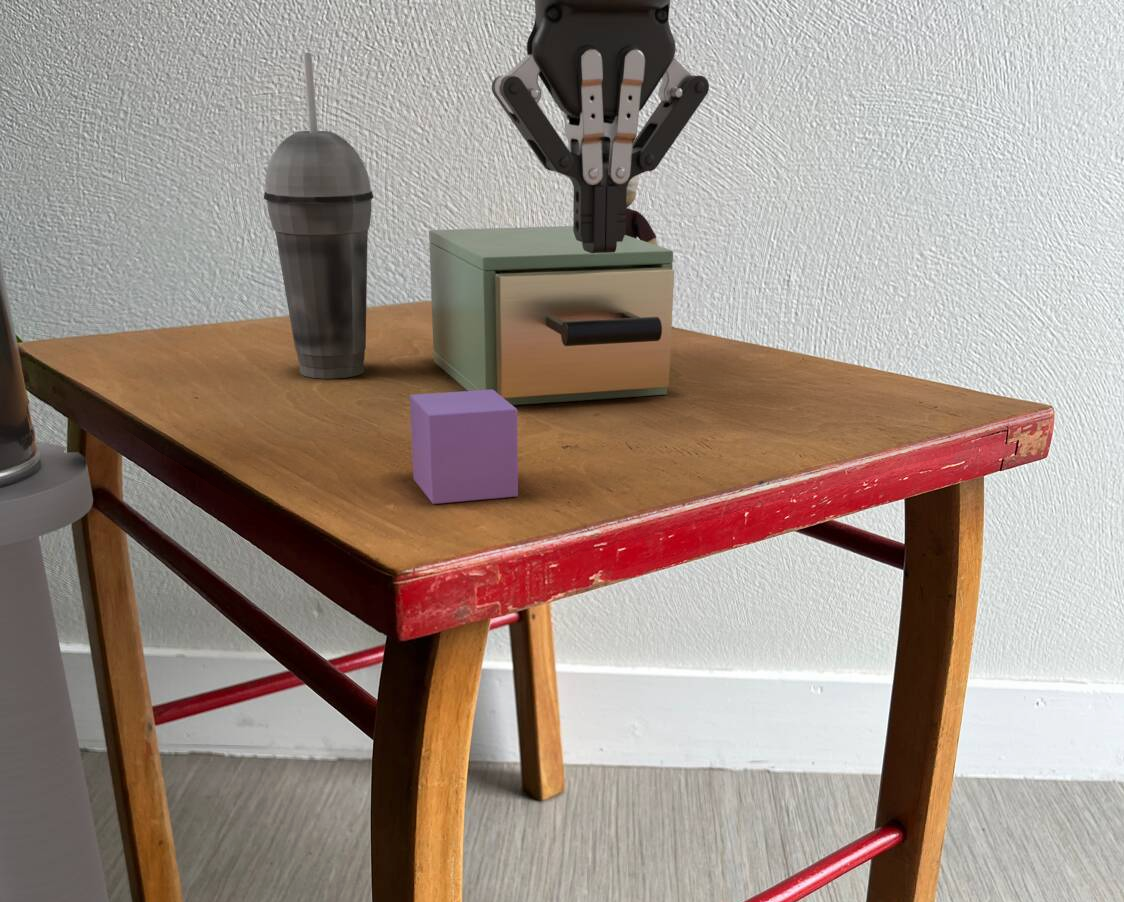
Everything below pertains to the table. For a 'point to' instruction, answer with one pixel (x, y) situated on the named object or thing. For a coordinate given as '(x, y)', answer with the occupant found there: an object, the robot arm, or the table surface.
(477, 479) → the purple cube
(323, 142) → the beverage cup
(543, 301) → the wooden drawer
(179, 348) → the table surface
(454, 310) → the drawer cabinet
